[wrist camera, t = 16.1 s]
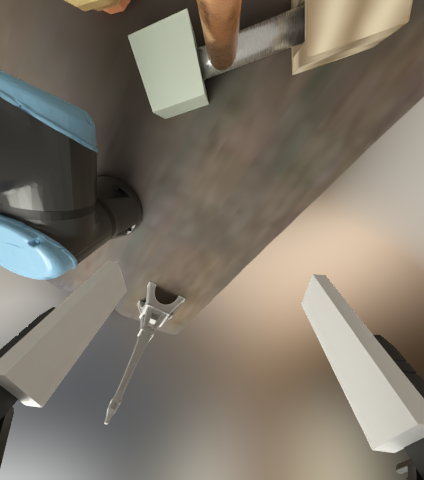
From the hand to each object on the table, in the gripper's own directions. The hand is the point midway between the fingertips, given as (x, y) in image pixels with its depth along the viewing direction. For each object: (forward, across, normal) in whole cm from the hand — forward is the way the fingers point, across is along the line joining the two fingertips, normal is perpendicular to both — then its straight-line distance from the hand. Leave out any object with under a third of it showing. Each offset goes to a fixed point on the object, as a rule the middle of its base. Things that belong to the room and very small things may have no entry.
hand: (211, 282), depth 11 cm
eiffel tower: (+31, -20, -39) cm, 54 cm away
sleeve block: (+31, +16, +26) cm, 43 cm away
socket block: (+31, -9, +19) cm, 37 cm away
